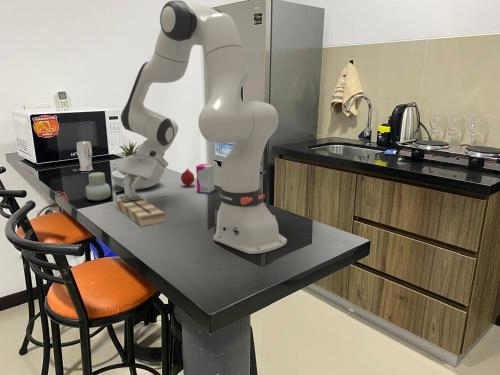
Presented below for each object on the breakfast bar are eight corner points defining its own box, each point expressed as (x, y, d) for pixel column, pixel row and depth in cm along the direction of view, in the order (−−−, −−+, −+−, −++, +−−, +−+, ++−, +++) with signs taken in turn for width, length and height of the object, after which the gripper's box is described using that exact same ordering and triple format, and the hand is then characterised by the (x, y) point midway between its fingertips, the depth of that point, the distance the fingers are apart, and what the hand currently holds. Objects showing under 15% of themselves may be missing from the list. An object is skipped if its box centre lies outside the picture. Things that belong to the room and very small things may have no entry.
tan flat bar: (165, 221, 125) (164, 212, 124) (141, 226, 120) (141, 217, 119) (137, 203, 143) (137, 195, 142) (116, 207, 139) (115, 199, 138)
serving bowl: (106, 193, 156) (104, 177, 154) (121, 181, 176) (120, 166, 174) (157, 193, 156) (156, 177, 155) (166, 181, 177) (165, 166, 175)
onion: (192, 188, 164) (191, 170, 162) (179, 187, 165) (178, 169, 163) (196, 185, 170) (195, 167, 167) (184, 184, 171) (183, 166, 169)
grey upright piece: (140, 198, 137) (139, 177, 135) (124, 201, 134) (122, 179, 132) (136, 196, 140) (135, 175, 138) (120, 199, 137) (118, 177, 135)
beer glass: (80, 170, 197) (76, 141, 193) (94, 169, 199) (91, 140, 195) (78, 173, 191) (75, 143, 187) (93, 172, 193) (90, 142, 189)
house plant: (130, 177, 182) (128, 144, 177) (110, 174, 188) (107, 141, 184) (152, 172, 194) (150, 140, 189) (132, 169, 200) (130, 138, 196)
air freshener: (112, 200, 146) (110, 175, 144) (89, 203, 142) (86, 178, 140) (107, 193, 155) (105, 170, 153) (85, 196, 152) (83, 172, 149)
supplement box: (215, 190, 161) (214, 164, 158) (209, 194, 156) (208, 166, 153) (202, 189, 163) (201, 163, 160) (196, 192, 157) (195, 165, 154)
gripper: (126, 148, 144) (105, 177, 139) (161, 154, 132) (139, 187, 127) (137, 158, 149) (117, 187, 144) (171, 164, 136) (151, 197, 132)
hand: (128, 187), depth 135 cm, fingers closed on grey upright piece, 3 cm apart
